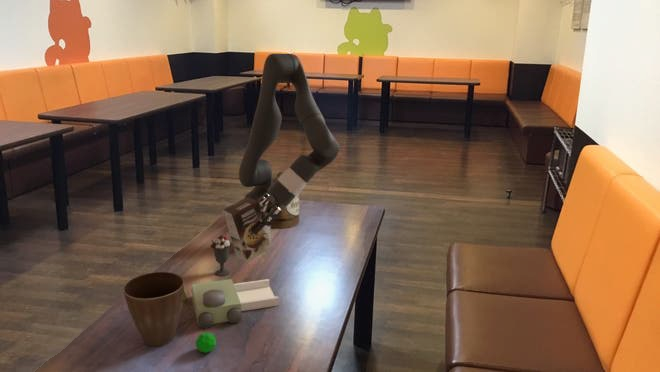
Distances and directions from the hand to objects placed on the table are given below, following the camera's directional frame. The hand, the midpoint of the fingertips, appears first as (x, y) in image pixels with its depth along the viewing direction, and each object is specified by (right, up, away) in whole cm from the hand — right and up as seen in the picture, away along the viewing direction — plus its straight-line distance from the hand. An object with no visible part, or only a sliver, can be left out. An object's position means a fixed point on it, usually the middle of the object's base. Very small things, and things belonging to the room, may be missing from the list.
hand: (250, 227), depth 159 cm
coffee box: (+1, -8, +3) cm, 8 cm away
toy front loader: (-4, -23, +2) cm, 24 cm away
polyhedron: (-8, -30, -20) cm, 37 cm away
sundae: (-13, -17, +23) cm, 32 cm away
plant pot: (-22, -29, -15) cm, 39 cm away
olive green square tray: (-25, -23, +6) cm, 34 cm away
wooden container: (+3, -3, +71) cm, 71 cm away
